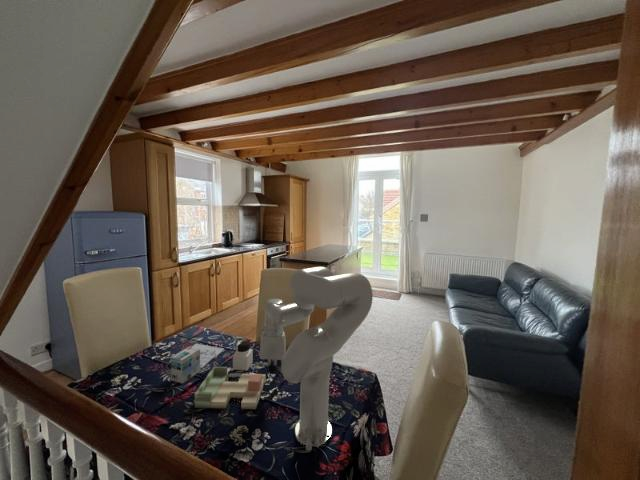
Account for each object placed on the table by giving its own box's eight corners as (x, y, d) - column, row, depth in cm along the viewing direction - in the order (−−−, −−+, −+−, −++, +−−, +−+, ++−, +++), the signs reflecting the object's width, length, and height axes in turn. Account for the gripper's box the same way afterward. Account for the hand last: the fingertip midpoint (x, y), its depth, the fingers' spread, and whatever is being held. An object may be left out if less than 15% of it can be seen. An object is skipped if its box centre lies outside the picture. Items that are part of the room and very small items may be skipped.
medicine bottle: (252, 362, 131) (252, 339, 130) (247, 371, 124) (247, 346, 123) (238, 361, 132) (238, 338, 130) (232, 369, 124) (232, 345, 123)
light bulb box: (182, 384, 113) (182, 360, 112) (170, 380, 115) (169, 357, 114) (201, 370, 123) (200, 348, 122) (189, 367, 125) (189, 345, 124)
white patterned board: (167, 364, 128) (167, 360, 128) (196, 345, 148) (196, 341, 148) (201, 370, 124) (201, 366, 124) (226, 350, 143) (226, 346, 143)
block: (259, 391, 106) (259, 381, 106) (248, 390, 106) (248, 381, 106) (261, 384, 111) (261, 374, 110) (251, 383, 111) (251, 374, 110)
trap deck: (255, 409, 100) (255, 395, 99) (194, 407, 100) (194, 393, 99) (265, 379, 118) (265, 367, 117) (213, 378, 118) (213, 366, 117)
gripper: (252, 333, 103) (251, 377, 105) (291, 335, 103) (289, 379, 105) (257, 324, 110) (256, 366, 112) (293, 326, 110) (291, 367, 112)
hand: (272, 372), depth 109 cm, fingers closed
